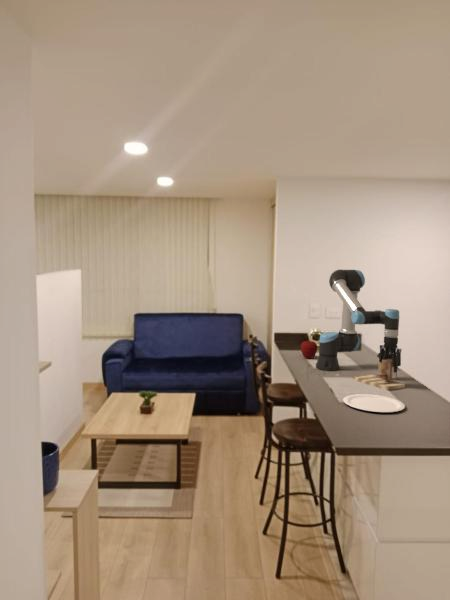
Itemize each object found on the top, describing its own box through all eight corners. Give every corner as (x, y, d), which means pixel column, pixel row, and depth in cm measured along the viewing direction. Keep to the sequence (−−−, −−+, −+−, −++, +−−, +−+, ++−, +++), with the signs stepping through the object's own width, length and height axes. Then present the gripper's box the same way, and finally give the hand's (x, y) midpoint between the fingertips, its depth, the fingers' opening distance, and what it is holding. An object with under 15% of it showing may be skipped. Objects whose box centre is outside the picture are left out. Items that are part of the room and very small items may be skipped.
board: (352, 379, 284) (352, 376, 284) (369, 377, 291) (369, 373, 291) (388, 390, 262) (388, 386, 262) (404, 387, 269) (405, 383, 269)
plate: (397, 419, 215) (397, 415, 215) (334, 407, 231) (335, 404, 230) (410, 403, 240) (410, 400, 240) (353, 393, 255) (353, 390, 255)
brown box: (373, 379, 272) (374, 360, 271) (388, 377, 278) (389, 358, 277) (382, 382, 266) (383, 362, 266) (396, 379, 273) (397, 360, 272)
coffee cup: (394, 381, 284) (395, 356, 282) (376, 379, 285) (378, 355, 284) (391, 377, 293) (393, 352, 292) (375, 375, 295) (376, 351, 294)
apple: (319, 358, 345) (320, 339, 344) (313, 360, 335) (314, 341, 334) (303, 355, 351) (304, 337, 350) (297, 358, 342) (298, 340, 340)
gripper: (373, 334, 278) (371, 373, 280) (400, 339, 262) (398, 381, 263) (382, 333, 282) (380, 372, 284) (409, 338, 265) (407, 379, 267)
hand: (388, 376), depth 274 cm, fingers closed on brown box, 6 cm apart
